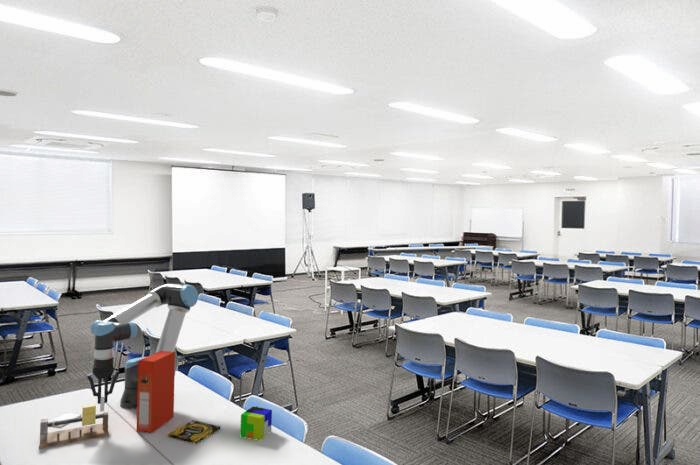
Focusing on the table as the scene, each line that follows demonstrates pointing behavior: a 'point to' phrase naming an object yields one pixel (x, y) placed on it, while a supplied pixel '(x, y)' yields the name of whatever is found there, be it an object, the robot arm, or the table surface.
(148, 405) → the file binder
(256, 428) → the puzzle toy
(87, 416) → the sleeve
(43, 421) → the comb stand
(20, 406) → the table surface
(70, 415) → the external hard drive
